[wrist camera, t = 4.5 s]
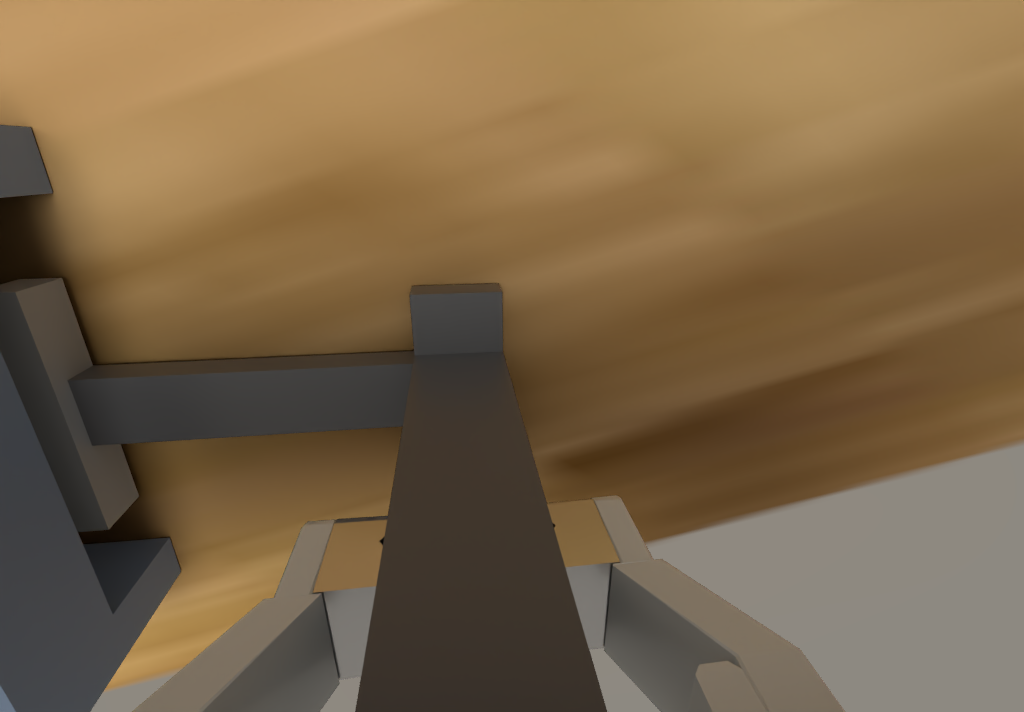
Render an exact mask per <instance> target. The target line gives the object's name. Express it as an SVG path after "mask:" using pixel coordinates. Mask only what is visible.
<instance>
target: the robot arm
mask: <svg viewBox="0 0 1024 712" xmlns="http://www.w3.org/2000/svg"><path fill="white" fill-rule="evenodd" d="M547 506H548V509H549V513H550V516H551V520H552V523H553V527H554V530H555V533H556V537H557V540H558V544H559V547H560V551H561V554H562V558H563V561H564V565H565V568H566V571H567V575H568V578H569V582H570V585H571V589H572V592H573V596H574V599H575V603H576V606H577V609H578V613H579V616H580V620H581V623H582V627H583V630H584V634H585V637H586V641H587V644H588V647H589V649H597V648H604V651H605V652H606V653H607V654H608V655H609V656H610V657H611V658H612V659H613V660H614V662H615V663H616V664H617V665H618V666H619V667H620V668H621V669H622V670H623V671H624V672H625V673H626V675H627V676H628V677H629V678H630V679H631V680H632V681H633V682H634V683H635V684H636V685H637V686H638V688H639V689H640V690H641V691H642V692H643V693H644V694H645V695H646V696H647V697H648V698H649V699H650V700H651V702H652V703H653V704H654V705H655V706H656V707H657V708H658V709H659V710H660V711H661V712H845V711H844V709H843V708H842V706H841V705H840V704H839V702H838V701H837V700H836V698H835V697H834V695H833V694H832V693H831V691H830V690H829V688H828V687H827V686H826V684H825V683H824V682H823V680H822V679H821V677H820V676H819V675H818V673H817V672H816V671H815V669H814V668H813V666H812V665H811V664H810V662H809V661H808V659H807V658H806V657H805V655H804V654H803V652H802V651H801V650H800V649H799V648H797V647H796V646H794V645H793V644H791V643H790V642H788V641H786V640H785V639H783V638H782V637H780V636H779V635H777V634H776V633H774V632H773V631H771V630H770V629H768V628H767V627H765V626H763V625H762V624H760V623H759V622H757V621H756V620H754V619H753V618H751V617H750V616H748V615H747V614H745V613H744V612H742V611H741V610H739V609H738V608H736V607H734V606H733V605H731V604H730V603H728V602H727V601H725V600H724V599H722V598H721V597H719V596H718V595H716V594H714V593H713V592H711V591H710V590H708V589H707V588H705V587H704V586H702V585H701V584H699V583H698V582H696V581H695V580H693V579H691V578H690V577H688V576H687V575H685V574H684V573H682V572H681V571H679V570H678V569H676V568H675V567H673V566H671V565H670V564H669V563H667V562H666V561H664V560H662V559H657V560H653V558H652V556H651V554H650V552H649V550H648V548H647V546H646V545H645V543H644V541H643V539H642V537H641V535H640V533H639V531H638V529H637V527H636V526H635V524H634V522H633V520H632V518H631V516H630V514H629V512H628V510H627V508H626V507H625V505H624V503H623V501H622V499H621V498H620V497H619V496H617V495H614V496H604V497H595V498H591V499H582V500H571V501H560V502H549V503H547ZM387 518H388V516H378V517H362V518H346V519H337V520H321V521H308V522H307V523H306V524H305V525H304V526H303V527H302V528H301V531H300V533H299V536H298V538H297V541H296V543H295V546H294V548H293V551H292V553H291V556H290V558H289V561H288V563H287V566H286V568H285V571H284V573H283V576H282V578H281V581H280V583H279V586H278V588H277V591H276V593H275V596H274V598H270V599H264V600H262V601H261V602H260V603H259V604H258V605H257V606H255V607H254V608H253V609H252V610H251V611H250V612H248V613H247V614H246V615H245V616H244V617H242V618H241V619H240V620H239V621H238V622H237V623H235V624H234V625H233V626H232V627H231V628H230V629H228V630H227V631H226V632H225V633H224V634H223V635H221V636H220V637H219V638H218V639H217V640H215V641H214V642H213V643H212V644H211V645H210V646H208V647H207V648H206V649H205V650H204V651H203V652H201V653H200V654H199V655H198V656H197V657H196V658H194V659H193V660H192V661H191V662H190V663H189V664H187V665H186V666H185V667H184V668H183V669H181V670H180V671H179V672H178V673H177V674H176V675H174V676H173V677H172V678H171V679H170V680H169V681H167V682H166V683H165V684H164V685H163V686H162V687H160V688H159V689H158V690H157V691H156V692H155V693H153V694H152V695H151V696H150V697H149V698H147V700H145V701H144V702H143V703H142V704H140V705H139V706H138V707H137V708H136V709H135V710H134V711H132V712H320V710H321V709H322V708H323V706H324V705H325V703H326V702H327V701H328V699H329V698H330V696H331V695H332V693H333V692H334V691H335V689H336V688H337V686H338V685H339V680H342V679H348V678H355V677H361V675H362V669H363V663H364V657H365V651H366V645H367V639H368V632H369V626H370V620H371V614H372V608H373V602H374V596H375V590H376V584H377V578H378V572H379V566H380V560H381V554H382V548H383V542H384V536H385V530H386V524H387Z"/></svg>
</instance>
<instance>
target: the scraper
mask: <svg viewBox="0 0 1024 712" xmlns="http://www.w3.org/2000/svg"><path fill="white" fill-rule="evenodd" d="M410 307H411V319H412V331H413V343H414V351H403V352H381V353H359V354H337V355H315V356H293V357H271V358H249V359H227V360H205V361H183V362H161V363H139V364H117V365H95V366H93V364H92V362H91V359H90V356H89V353H88V350H87V347H86V345H85V342H84V339H83V336H82V333H81V330H80V328H79V325H78V322H77V319H76V316H75V313H74V311H73V308H72V305H71V302H70V299H69V296H68V294H67V291H66V288H65V285H64V282H63V279H62V278H40V279H18V280H15V281H11V282H7V283H4V284H0V351H1V354H2V356H3V358H4V361H5V363H6V365H7V368H8V370H9V372H10V375H11V377H12V379H13V382H14V384H15V386H16V389H17V391H18V394H19V396H20V398H21V401H22V403H23V405H24V408H25V410H26V412H27V415H28V417H29V419H30V422H31V424H32V426H33V429H34V431H35V433H36V436H37V438H38V440H39V443H40V445H41V447H42V450H43V452H44V454H45V457H46V459H47V461H48V464H49V466H50V468H51V471H52V473H53V476H54V478H55V480H56V483H57V485H58V487H59V490H60V492H61V494H62V497H63V499H64V501H65V504H66V506H67V508H68V511H69V513H70V515H71V518H72V520H73V522H74V525H75V527H76V529H77V532H86V531H98V530H109V529H110V528H111V527H112V526H113V524H114V523H115V522H116V521H117V520H118V519H119V518H120V517H121V516H122V515H123V513H124V512H125V511H126V510H127V509H128V508H129V507H130V506H131V505H132V504H133V503H134V501H135V500H136V499H137V498H138V497H139V495H138V492H137V489H136V486H135V483H134V481H133V478H132V475H131V472H130V469H129V466H128V464H127V461H126V458H125V455H124V452H123V449H122V447H121V444H128V443H144V442H160V441H176V440H192V439H208V438H224V437H240V436H256V435H272V434H288V433H304V432H320V431H336V430H352V429H368V428H384V427H400V426H403V428H402V434H401V440H400V446H399V452H398V458H397V464H396V470H395V476H394V482H393V488H392V494H391V500H390V506H389V512H388V518H387V524H386V530H385V536H384V542H383V548H382V554H381V560H380V566H379V572H378V578H377V584H376V590H375V596H374V602H373V608H372V614H371V620H370V626H369V632H368V639H367V645H366V651H365V657H364V663H363V669H362V675H361V681H360V687H359V693H358V699H357V705H356V711H355V712H607V710H606V706H605V703H604V699H603V696H602V693H601V689H600V685H599V682H598V679H597V675H596V672H595V669H594V665H593V661H592V658H591V654H590V651H589V647H588V644H587V641H586V637H585V634H584V630H583V627H582V623H581V620H580V616H579V613H578V609H577V606H576V603H575V599H574V596H573V592H572V589H571V585H570V582H569V578H568V575H567V571H566V568H565V565H564V561H563V558H562V554H561V551H560V547H559V544H558V540H557V537H556V533H555V530H554V527H553V523H552V520H551V516H550V513H549V509H548V506H547V502H546V499H545V495H544V492H543V489H542V485H541V482H540V478H539V475H538V471H537V468H536V464H535V461H534V457H533V454H532V450H531V447H530V444H529V440H528V437H527V433H526V430H525V426H524V423H523V419H522V416H521V412H520V409H519V406H518V402H517V399H516V395H515V392H514V388H513V385H512V381H511V378H510V374H509V371H508V368H507V364H506V361H505V357H504V354H503V317H502V290H501V288H500V285H499V283H494V284H461V285H428V286H412V288H411V291H410Z"/></svg>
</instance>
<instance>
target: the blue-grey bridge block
mask: <svg viewBox="0 0 1024 712" xmlns="http://www.w3.org/2000/svg"><path fill="white" fill-rule="evenodd" d="M49 193H53V192H52V189H51V186H50V183H49V180H48V177H47V174H46V171H45V168H44V165H43V162H42V159H41V156H40V153H39V150H38V147H37V144H36V141H35V138H34V135H33V132H32V129H31V127H22V126H8V125H0V198H4V197H15V196H26V195H38V194H49ZM180 572H181V570H180V567H179V564H178V561H177V558H176V555H175V552H174V549H173V546H172V543H171V540H170V538H158V539H146V540H133V541H121V542H108V543H96V544H84V545H83V543H82V541H81V539H80V536H79V534H78V532H77V529H76V527H75V525H74V522H73V520H72V518H71V515H70V513H69V511H68V508H67V506H66V504H65V501H64V499H63V497H62V494H61V492H60V490H59V487H58V485H57V483H56V480H55V478H54V476H53V473H52V471H51V468H50V466H49V464H48V461H47V459H46V457H45V454H44V452H43V450H42V447H41V445H40V443H39V440H38V438H37V436H36V433H35V431H34V429H33V426H32V424H31V422H30V419H29V417H28V415H27V412H26V410H25V408H24V405H23V403H22V401H21V398H20V396H19V394H18V391H17V389H16V386H15V384H14V382H13V379H12V377H11V375H10V372H9V370H8V368H7V365H6V363H5V361H4V358H3V356H2V354H1V351H0V712H90V711H91V710H92V708H93V706H94V704H95V703H96V702H97V700H98V699H99V697H100V696H101V694H102V693H103V691H104V689H105V688H106V686H107V685H108V683H109V682H110V680H111V679H112V677H113V676H114V674H115V673H116V671H117V669H118V668H119V666H120V665H121V663H122V662H123V660H124V659H125V657H126V656H127V654H128V652H129V651H130V649H131V648H132V646H133V645H134V643H135V642H136V640H137V639H138V637H139V636H140V634H141V632H142V631H143V629H144V628H145V626H146V625H147V623H148V622H149V620H150V619H151V617H152V615H153V614H154V612H155V611H156V609H157V608H158V606H159V605H160V603H161V602H162V600H163V599H164V597H165V595H166V594H167V592H168V591H169V589H170V588H171V586H172V585H173V583H174V582H175V580H176V578H177V577H178V575H179V574H180Z"/></svg>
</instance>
